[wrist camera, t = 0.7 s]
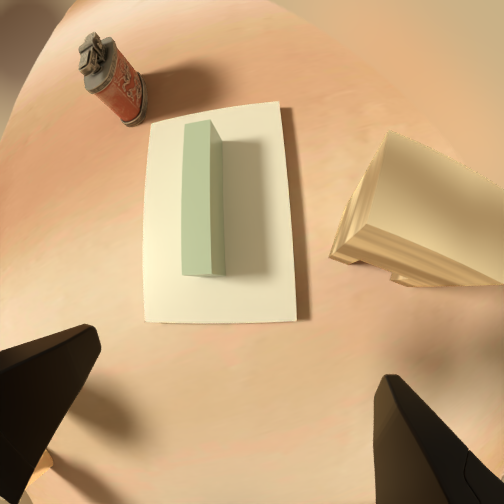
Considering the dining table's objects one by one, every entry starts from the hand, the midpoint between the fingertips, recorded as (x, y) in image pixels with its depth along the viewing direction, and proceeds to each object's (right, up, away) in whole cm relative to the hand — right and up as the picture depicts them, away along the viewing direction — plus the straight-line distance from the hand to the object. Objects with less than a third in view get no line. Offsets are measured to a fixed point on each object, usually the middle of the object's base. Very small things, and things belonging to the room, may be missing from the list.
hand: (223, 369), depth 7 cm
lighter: (-12, +20, +19) cm, 30 cm away
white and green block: (-2, +7, +15) cm, 17 cm away
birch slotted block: (+10, +4, +13) cm, 17 cm away
